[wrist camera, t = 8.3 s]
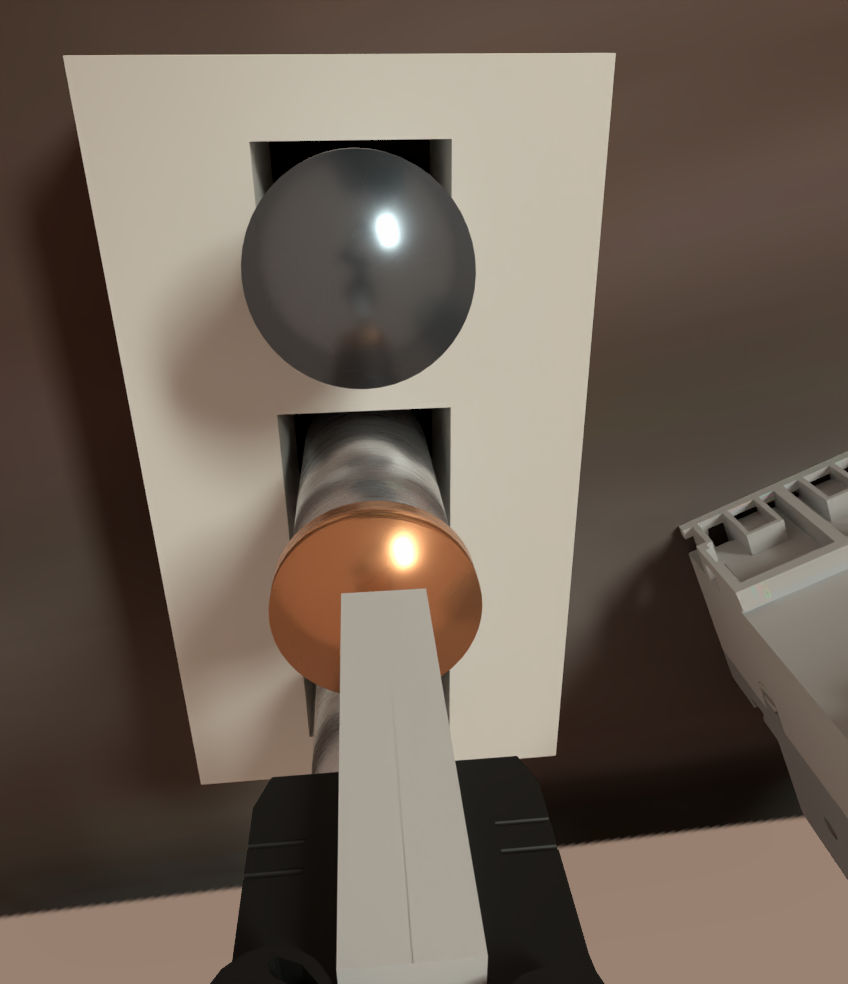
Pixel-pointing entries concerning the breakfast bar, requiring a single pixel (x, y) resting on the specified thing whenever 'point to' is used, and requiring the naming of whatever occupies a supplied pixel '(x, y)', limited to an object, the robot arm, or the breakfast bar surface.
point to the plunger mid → (368, 541)
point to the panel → (285, 391)
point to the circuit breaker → (789, 627)
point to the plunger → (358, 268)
